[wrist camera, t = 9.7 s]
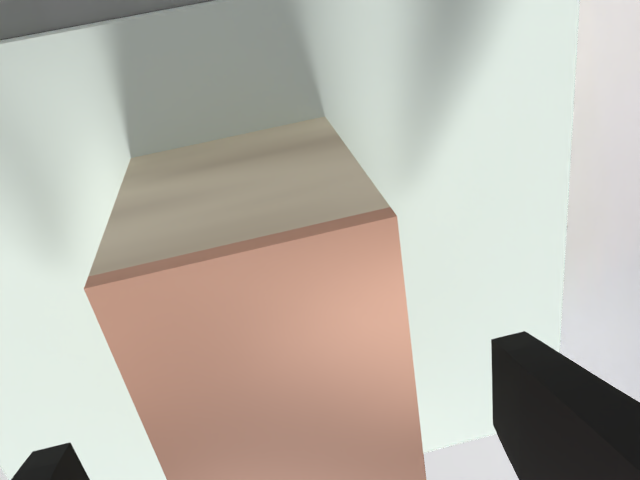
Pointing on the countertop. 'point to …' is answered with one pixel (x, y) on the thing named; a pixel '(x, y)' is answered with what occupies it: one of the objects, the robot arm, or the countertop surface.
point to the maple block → (261, 311)
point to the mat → (272, 111)
